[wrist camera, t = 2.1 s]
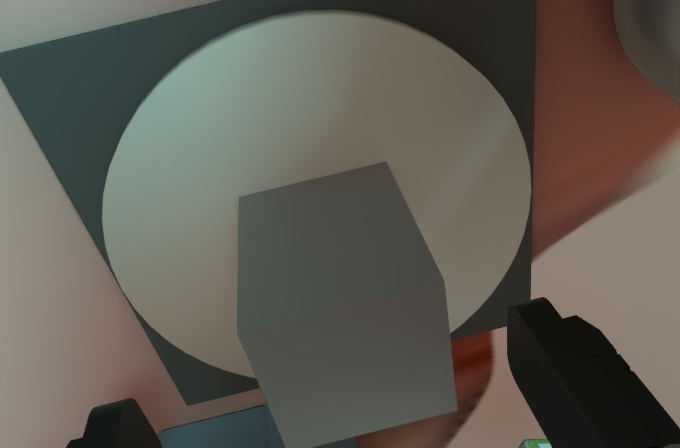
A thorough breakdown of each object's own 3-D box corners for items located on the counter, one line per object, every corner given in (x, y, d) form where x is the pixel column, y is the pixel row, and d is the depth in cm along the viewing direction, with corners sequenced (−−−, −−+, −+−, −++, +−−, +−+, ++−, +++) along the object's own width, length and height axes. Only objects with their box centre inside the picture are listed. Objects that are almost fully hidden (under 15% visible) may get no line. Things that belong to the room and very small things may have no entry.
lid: (516, -43, 13) (687, 13, 8) (516, 313, 20) (608, 464, 15) (23, 74, 13) (-119, 206, 8) (195, 393, 19) (179, 572, 14)
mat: (529, -73, 13) (537, -71, 13) (525, 313, 20) (529, 320, 20) (-4, 53, 13) (-10, 58, 12) (188, 396, 20) (187, 405, 20)
